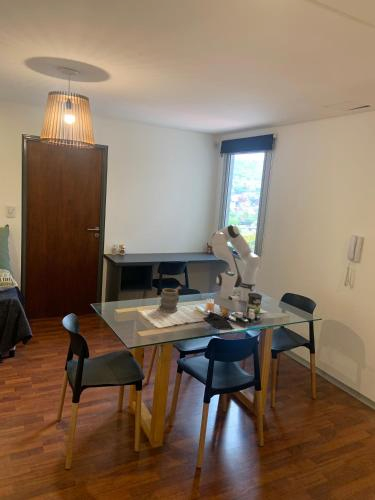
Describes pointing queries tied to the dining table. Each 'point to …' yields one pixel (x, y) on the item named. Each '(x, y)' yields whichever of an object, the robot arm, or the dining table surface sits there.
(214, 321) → the dark slate chunk
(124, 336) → the dining table surface
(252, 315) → the toggle tagged
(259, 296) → the coffee can
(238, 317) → the toggle left
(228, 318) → the breaker panel
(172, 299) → the tankard
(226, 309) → the lockout cap
